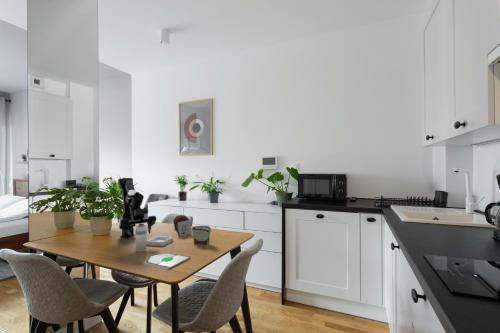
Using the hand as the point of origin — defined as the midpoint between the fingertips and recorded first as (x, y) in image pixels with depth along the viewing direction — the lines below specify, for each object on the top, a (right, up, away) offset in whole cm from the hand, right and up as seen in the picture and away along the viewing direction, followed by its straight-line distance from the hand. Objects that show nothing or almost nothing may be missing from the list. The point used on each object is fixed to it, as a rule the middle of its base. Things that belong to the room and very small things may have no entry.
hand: (141, 234), depth 137 cm
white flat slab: (+17, -9, -15) cm, 24 cm away
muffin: (+9, -9, +46) cm, 48 cm away
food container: (+32, -8, +11) cm, 35 cm away
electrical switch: (+15, -9, +30) cm, 35 cm away
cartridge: (0, -8, 0) cm, 8 cm away
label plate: (+23, -8, +28) cm, 37 cm away
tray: (+6, -8, +13) cm, 16 cm away
